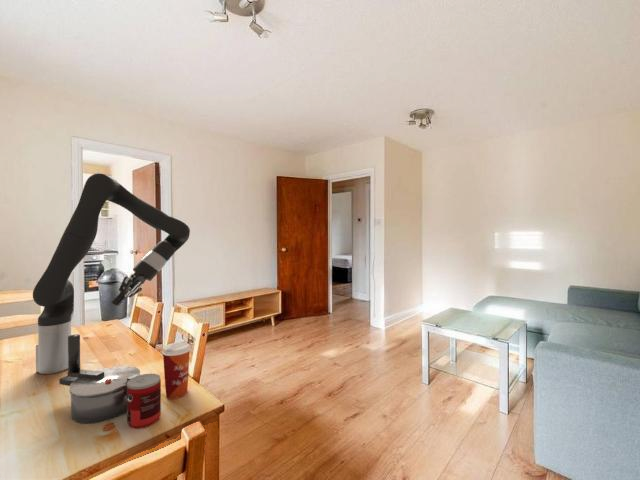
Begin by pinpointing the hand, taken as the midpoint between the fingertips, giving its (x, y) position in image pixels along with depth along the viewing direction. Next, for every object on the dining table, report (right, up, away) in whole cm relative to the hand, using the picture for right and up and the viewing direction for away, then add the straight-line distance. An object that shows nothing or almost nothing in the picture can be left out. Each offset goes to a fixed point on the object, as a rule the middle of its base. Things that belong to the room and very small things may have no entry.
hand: (114, 304), depth 108 cm
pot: (+8, -25, -19) cm, 33 cm away
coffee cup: (+27, -26, -12) cm, 39 cm away
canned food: (+25, -26, -26) cm, 44 cm away
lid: (+10, -18, -19) cm, 28 cm away
